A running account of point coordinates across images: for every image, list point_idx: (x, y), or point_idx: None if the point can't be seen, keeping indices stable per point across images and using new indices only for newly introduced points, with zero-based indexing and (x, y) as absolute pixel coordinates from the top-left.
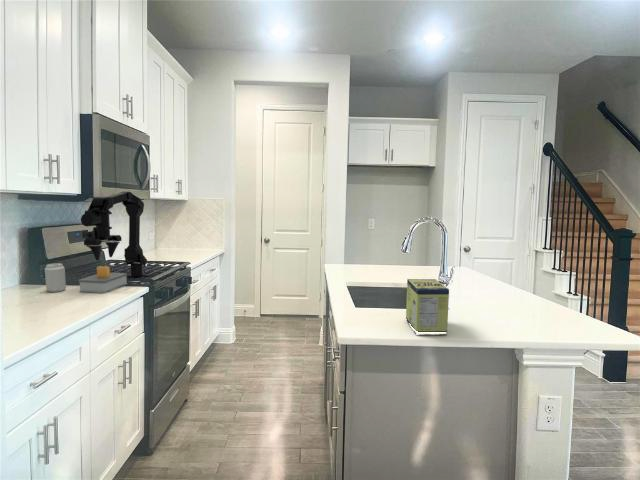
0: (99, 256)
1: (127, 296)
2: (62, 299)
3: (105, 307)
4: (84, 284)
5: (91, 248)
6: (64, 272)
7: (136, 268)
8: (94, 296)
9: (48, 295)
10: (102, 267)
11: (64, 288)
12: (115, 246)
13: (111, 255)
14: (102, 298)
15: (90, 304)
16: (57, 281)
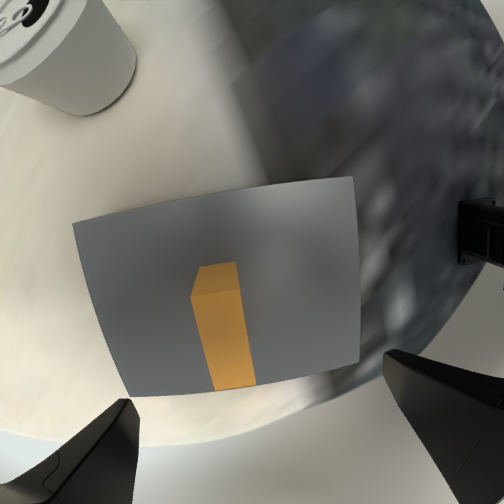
0: (131, 463)
1: (164, 444)
2: (12, 258)
3: (61, 441)
4: None
5: (9, 498)
6: (69, 68)
7: (490, 260)
8: (94, 348)
9: (26, 136)
10: (205, 356)
11: (99, 110)
12: (453, 485)
13: (391, 387)
14: (97, 393)
15: (43, 396)
16: (42, 102)
